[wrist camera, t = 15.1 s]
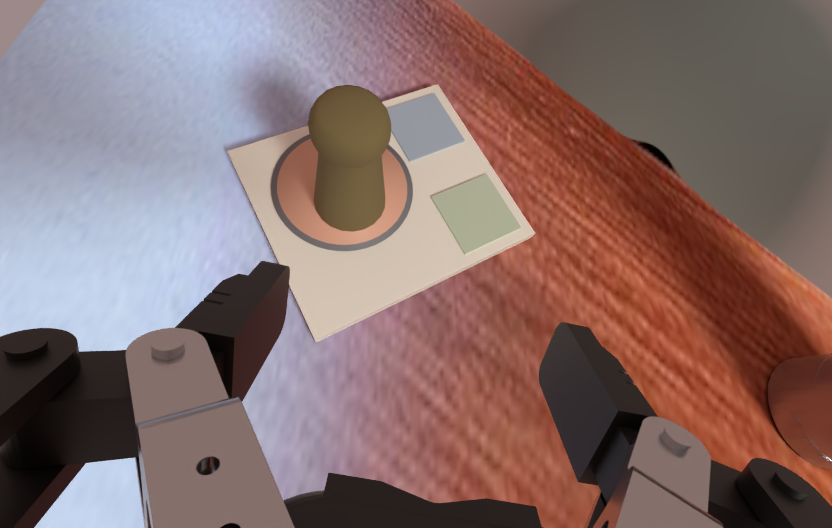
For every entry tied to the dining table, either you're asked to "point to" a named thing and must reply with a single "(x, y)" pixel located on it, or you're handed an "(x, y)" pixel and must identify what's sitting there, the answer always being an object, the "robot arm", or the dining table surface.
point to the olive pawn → (349, 156)
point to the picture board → (399, 223)
